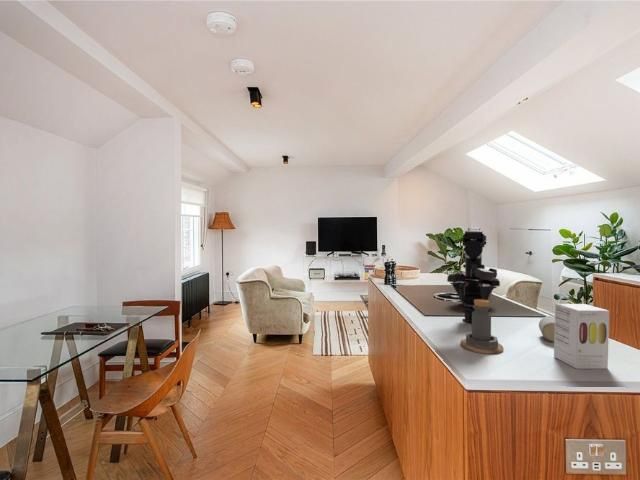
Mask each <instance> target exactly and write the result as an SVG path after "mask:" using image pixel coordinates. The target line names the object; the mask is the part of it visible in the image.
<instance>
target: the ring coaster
mask: <svg viewBox="0 0 640 480" xmlns="http://www.w3.org/2000/svg"><path fill="white" fill-rule="evenodd" d="M460 346H461V347H462V348H463V349H465V350H466V351H469V352H472V353H473V352H474V353H476V354H484V355H497V354H498V355H499V354H501V353H502V352H504V346H503V345H502V344H500V343H499V341H498V337H497V336H494V335H492V334H491V341H480V340H475V339H473V338H472V332H469V333H466V334H465V338H464V339H461V340H460Z"/></svg>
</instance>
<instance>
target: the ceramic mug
mask: <svg viewBox="0 0 640 480" xmlns="http://www.w3.org/2000/svg"><path fill="white" fill-rule="evenodd" d="M538 328H539V330H540V332H541V335H542V336H543V338H545V340H547V341H549V342H552V343H554V336H555V316H552V315H547V316H544V317H542V318H541V319H540V320H539V322H538Z"/></svg>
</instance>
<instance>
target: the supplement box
mask: <svg viewBox="0 0 640 480" xmlns="http://www.w3.org/2000/svg"><path fill="white" fill-rule="evenodd" d="M554 305H555V306H554V307H555V308H554V317H555V336H554V342H553V343H554V344H553V345H554V346H553V357H555V358H556V359H558V360H560V361H561V362H563V363H565V364H567V365H569V366H571V367H573V368H574V369H579V370H580V369H583V370H584V369H585V370H587V369H594V370H595V369H597V370H599V369H600V370H601V369H602V370H605V369H608V366H609V364H608V363H609V362H608V361H609V339H610V338H609V337H610V336H609V334H610V329H609V328H610V310H608V309H604V308H603V307H602V308H601V307H597V306H593V305H590V304H586V303H555V304H554Z"/></svg>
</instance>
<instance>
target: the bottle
mask: <svg viewBox="0 0 640 480" xmlns="http://www.w3.org/2000/svg"><path fill="white" fill-rule="evenodd" d="M474 304H475V305H473V308H474V309H475V311H473V312H472V323H471V333H472V338H473V339H475V340H480V341H491V335H492V314H491V313H490V312H489V311H490V309H491V306H490V302H489V301H488V300H484V299H475V300H474ZM488 305H489V306H488Z"/></svg>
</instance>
